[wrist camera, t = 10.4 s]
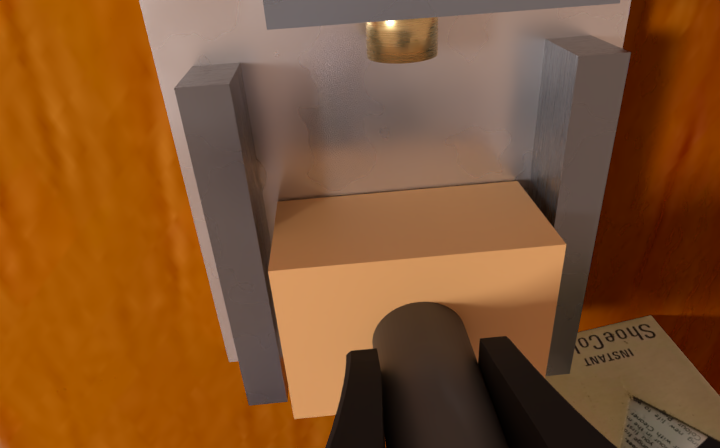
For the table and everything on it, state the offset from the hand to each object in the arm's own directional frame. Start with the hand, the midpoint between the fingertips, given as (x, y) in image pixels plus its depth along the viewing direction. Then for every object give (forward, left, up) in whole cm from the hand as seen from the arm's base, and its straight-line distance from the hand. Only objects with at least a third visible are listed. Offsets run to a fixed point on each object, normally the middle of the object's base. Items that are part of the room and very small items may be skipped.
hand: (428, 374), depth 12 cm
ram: (0, 0, -5) cm, 5 cm away
